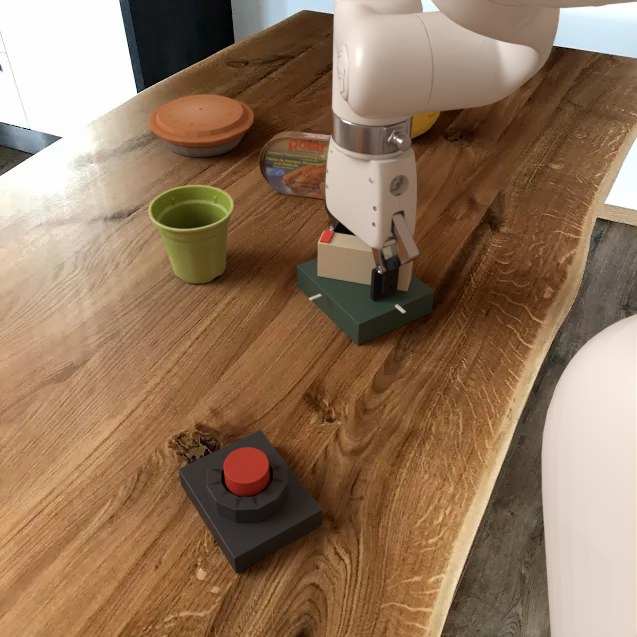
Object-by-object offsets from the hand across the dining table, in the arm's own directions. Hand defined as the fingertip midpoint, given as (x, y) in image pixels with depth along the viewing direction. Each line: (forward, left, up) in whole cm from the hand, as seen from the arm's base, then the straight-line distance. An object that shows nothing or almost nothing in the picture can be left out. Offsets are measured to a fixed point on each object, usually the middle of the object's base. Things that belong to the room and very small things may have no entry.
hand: (362, 276), depth 80 cm
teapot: (+31, -29, -3) cm, 43 cm away
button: (-17, +24, 0) cm, 29 cm away
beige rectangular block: (0, 0, 0) cm, 0 cm away
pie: (+44, -2, -3) cm, 44 cm away
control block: (-17, +24, -3) cm, 30 cm away
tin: (+22, -8, -3) cm, 24 cm away
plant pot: (+15, +13, -3) cm, 20 cm away
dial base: (0, 0, -3) cm, 3 cm away
